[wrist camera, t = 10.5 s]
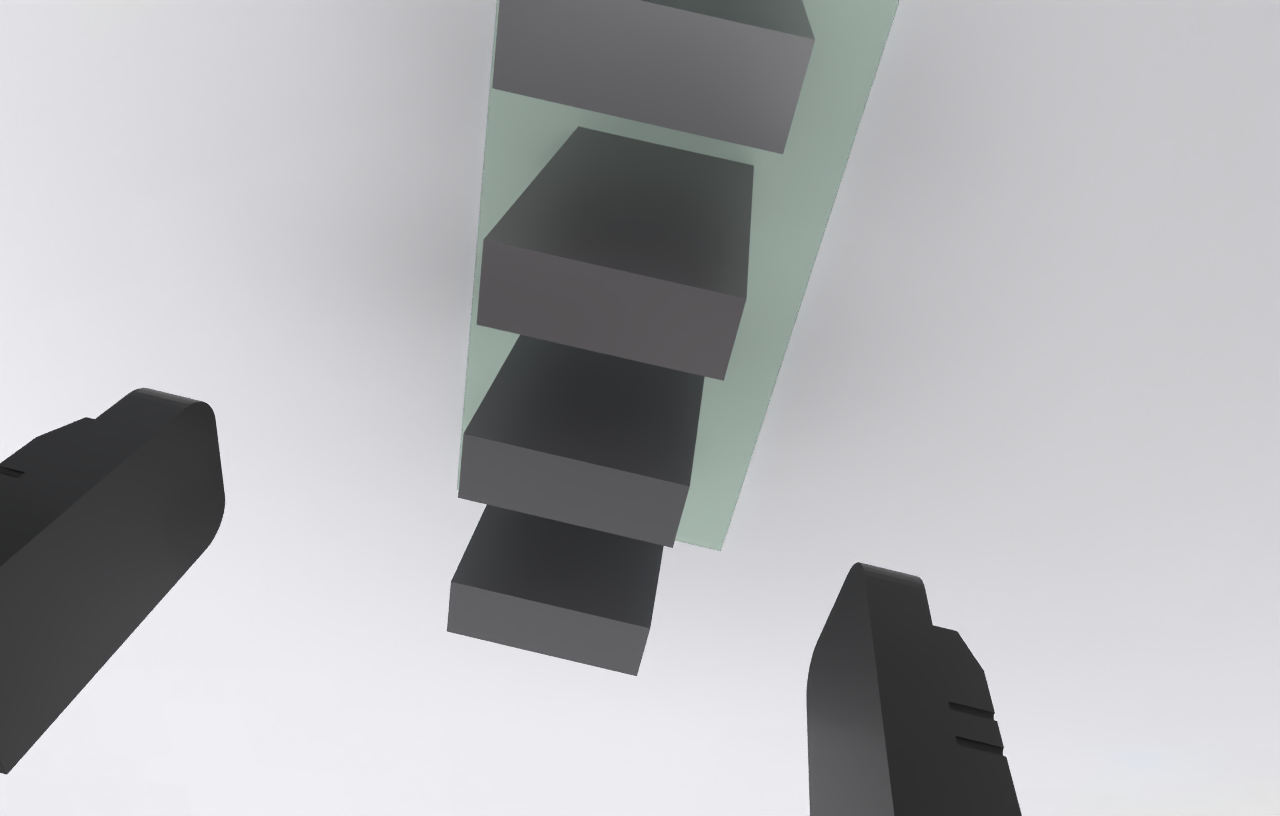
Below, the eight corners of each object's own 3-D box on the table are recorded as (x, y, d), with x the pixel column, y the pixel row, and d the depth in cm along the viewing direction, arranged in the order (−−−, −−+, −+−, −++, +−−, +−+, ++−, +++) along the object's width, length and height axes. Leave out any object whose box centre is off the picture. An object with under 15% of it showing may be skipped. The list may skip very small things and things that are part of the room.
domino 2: (754, 165, 23) (746, 298, 15) (738, 226, 24) (723, 380, 16) (578, 126, 23) (483, 239, 15) (569, 189, 24) (476, 324, 16)
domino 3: (713, 309, 25) (689, 486, 18) (700, 359, 26) (673, 547, 19) (555, 273, 25) (463, 434, 18) (547, 324, 26) (458, 497, 19)
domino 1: (797, -13, 20) (815, 40, 13) (777, 63, 21) (783, 154, 14) (601, -57, 20) (502, -31, 13) (590, 21, 21) (492, 88, 14)
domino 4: (682, 428, 28) (649, 628, 20) (671, 470, 29) (636, 676, 21) (538, 394, 28) (450, 581, 20) (532, 437, 29) (446, 631, 21)
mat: (1026, -402, 16) (1032, -409, 16) (721, 543, 31) (720, 551, 30) (543, -507, 17) (538, -515, 16) (460, 482, 31) (457, 489, 30)
